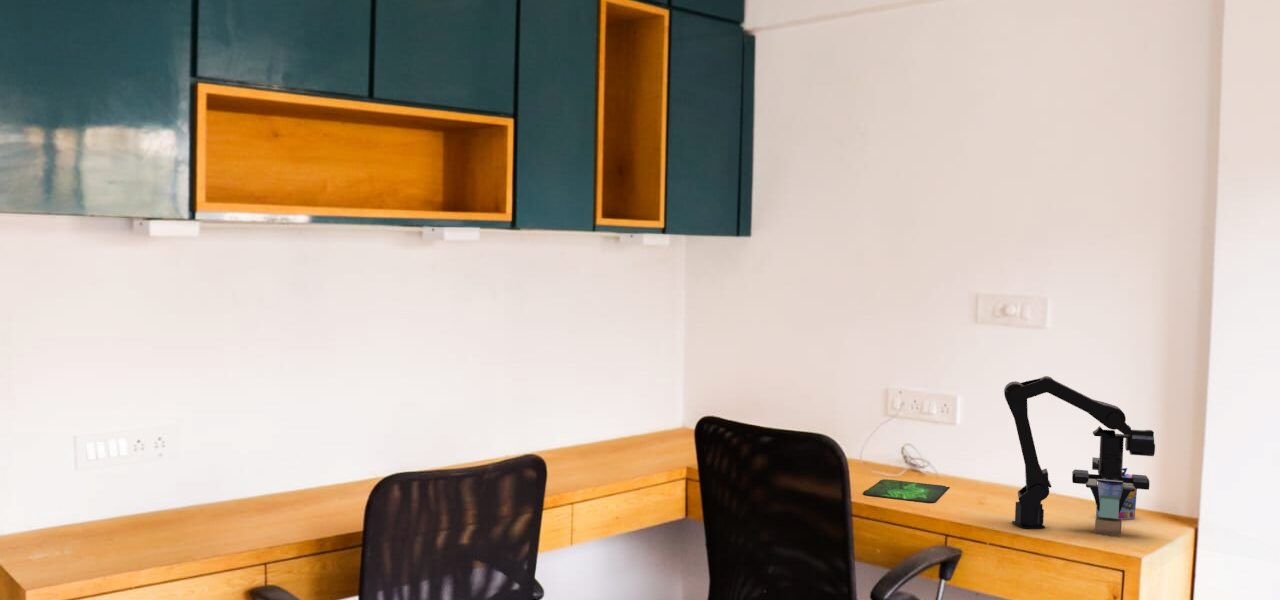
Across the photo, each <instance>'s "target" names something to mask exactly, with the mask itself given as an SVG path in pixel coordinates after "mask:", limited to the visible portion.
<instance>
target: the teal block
mask: <svg viewBox="0 0 1280 600" xmlns="http://www.w3.org/2000/svg"><path fill="white" fill-rule="evenodd" d="M1099 502H1100V510H1099V517H1104V518H1115V519H1118V517H1119V498H1118V496H1107V495H1100V497H1099Z"/></svg>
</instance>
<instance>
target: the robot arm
mask: <svg viewBox="0 0 1280 600" xmlns="http://www.w3.org/2000/svg"><path fill="white" fill-rule="evenodd" d="M1042 394H1050V395H1052V396H1053V397H1056V398H1058V399H1060V400H1061V401H1064V402H1066V403H1067V404H1070V405H1072V406H1074V407H1076V408H1078V409H1080V410H1082V411H1084V412H1086V413H1087V414H1089V415H1090V416H1091V417H1092V418H1094V419H1095V420H1097V421H1098V422H1099V423H1100V424H1102V425H1103V426H1104V427H1106V428H1108V429H1103V428H1102V427H1101V426H1098V427H1097V428H1096V429H1095V430H1093V431H1092V435H1093V436H1094V437H1100V440H1099V456H1098V457H1092V462H1091V465H1092V466H1091V470H1093V471H1097V474H1092V473H1089V470H1084V469H1074V470H1073V471H1072V473H1071V474H1072V475H1071V478H1072V479H1071V482H1072V483H1073V484H1079V485H1085V487H1086V488H1088V489H1090V490H1091V492H1092V495H1093V498H1094V500H1095V505H1096V508H1097V509H1098V511H1099V510H1100V502H1099V492H1098V482H1107V483H1118V484H1123V485H1121V493H1120V498H1119V513H1120V511H1121V509H1122V506H1123V504H1124V502H1125V500H1126V498H1127V496H1128V495H1129V493H1130V492H1134V491H1135V489H1134V487H1135V488H1136V489H1137V490H1146V491H1147V490H1150V479H1149V477H1148V476H1147V475H1145V474H1144V475H1142V474H1135V473H1133V474H1131V475H1132V478H1130V477H1122V472H1123V470H1122V468H1123V464H1124V463H1123V461H1124V447H1125V451H1127V452H1128V453H1129V455H1131V456H1142V457H1143V456H1146V457H1154V456H1155V453H1156V444H1155V436H1154V430H1152V429H1145V430H1144V429H1132V427H1131V426H1130V425H1129V424H1127V423H1126V421H1127V420H1126V415H1125V414H1126V413H1124V412H1123V411H1122V409H1121V408H1120V407H1119V406H1116V405H1113V404H1111V403H1108V402H1104V401H1100V400H1098V399H1097V400H1096V399H1095V398H1094V399H1093V398H1091V397H1089V396H1087V395H1085V394H1083V393H1081V392H1079V391H1076V390H1075V389H1073V388H1071V387H1068V386H1067V385H1065V384H1062V383H1061V382H1060V381H1057V380H1054V379H1053V378H1052V377H1051V376H1049V375H1048V376H1047V375H1046V376H1045V375H1044V376H1042V377H1039V378H1037V379H1031V380H1026V381H1022V382H1019V381H1011V382H1008V383H1007V384H1006V385H1005V386H1004V389H1003V395H1004V398H1005V401H1006V403H1007V405H1008V408H1009V410H1010V412H1011V414H1012V416H1013V419H1014V423H1015V428H1016V432H1017V436H1018V441H1019V444H1020V448H1021V452H1022V454H1021V455H1022V457H1023V461H1024V470H1025V471H1024V474H1025V475H1024V477H1025V485H1024V486H1023V487H1022V488H1020V489H1019V490H1017V497H1018V501H1016V502H1015V509H1014V510H1015V511H1014V512H1015V513H1014V515H1015V516H1014V520H1012V521H1011V524H1014V525H1016V526H1017V527H1019V528H1022V529H1044V528H1046V526H1045V525H1044V515H1045V513H1044V511H1045V510H1044V508H1043V506H1044V505H1043V503H1042V501H1044V500H1046V499H1047V498H1048V496H1049V495H1050V488H1052V485H1051V482H1050V480H1049V472H1048V469H1047V468H1044V469H1042V468H1041V465H1040V462H1039V459H1038V454H1037V451H1036V446H1035V440H1034V437H1033V433H1032V429H1031V423H1030V421H1029V416H1028V415H1029V414H1028V399H1031V398H1035V397H1037V396H1040V395H1042ZM1116 430H1117V431H1119V432H1120V433H1116ZM1124 441H1125V442H1124ZM1124 443H1125V445H1124ZM1114 479H1115V480H1114Z"/></svg>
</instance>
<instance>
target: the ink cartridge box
mask: <svg viewBox="0 0 1280 600" xmlns="http://www.w3.org/2000/svg"><path fill="white" fill-rule="evenodd" d="M1127 471H1128V467H1124V468H1123V467H1122V477H1130V478H1132V474H1129V473H1126V472H1127ZM1114 480H1115V479H1114ZM1097 484H1098V492H1099V497H1100V495H1107V496H1118V498H1120V493H1121V485H1123V484H1118V483H1107V482H1097ZM1134 489H1135V491H1134V492H1130V493H1129V495H1128V496H1127V498H1126V500H1125V502H1124V504H1123V506H1122V509H1121V511H1120V513H1119V517H1118V518H1122V521H1124V520H1134V519H1136V507H1137V493H1138V489H1136V488H1135V487H1134ZM1097 515H1099V511H1098V509H1097V507H1096V510H1095V516H1096V517H1097Z"/></svg>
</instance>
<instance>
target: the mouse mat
mask: <svg viewBox="0 0 1280 600" xmlns="http://www.w3.org/2000/svg"><path fill="white" fill-rule="evenodd" d="M946 486H947V485H941V484H932V483H923V482H914V481H907V480H905V481H904V480H898V479H897V480H896V479H888V478H887V479H885V478H884V479H880V480H879V481H878V482H876V483H875V484H874V485H872V486H871V487H869V488H867V489H866V490H864V491H862V494H863V495H864V496H867V497H876V498H884V499H893V500H902V501H911V502H919V503H928V504H929V503H931V504H932V503H936V502H937V501H938V500H939V499H940V498H941V497H942V496H943V495H945V493H946V492H948V490H949V489H951V487H950V486H948V487H946Z"/></svg>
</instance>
